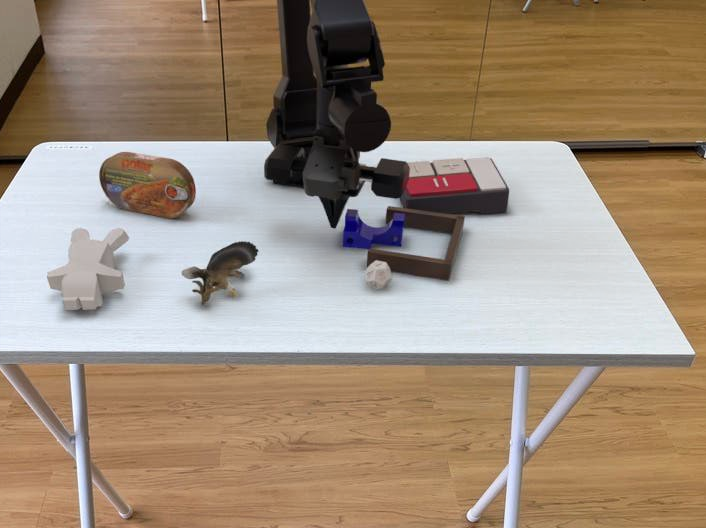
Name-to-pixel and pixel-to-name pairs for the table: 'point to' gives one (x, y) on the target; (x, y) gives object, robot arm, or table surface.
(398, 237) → the cable holder
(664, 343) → the table surface
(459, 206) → the calculator
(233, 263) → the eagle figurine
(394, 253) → the square wooden border
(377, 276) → the game die
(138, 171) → the tin
